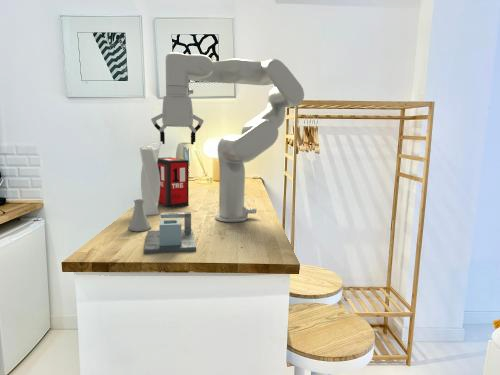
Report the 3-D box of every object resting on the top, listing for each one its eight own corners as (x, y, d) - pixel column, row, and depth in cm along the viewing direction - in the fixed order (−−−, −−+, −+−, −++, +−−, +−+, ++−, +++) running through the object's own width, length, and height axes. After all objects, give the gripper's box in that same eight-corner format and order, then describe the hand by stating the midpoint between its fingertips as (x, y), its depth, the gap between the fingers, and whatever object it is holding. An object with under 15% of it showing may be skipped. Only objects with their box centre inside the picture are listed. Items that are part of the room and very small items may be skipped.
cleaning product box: (153, 201, 165) (152, 158, 162) (170, 199, 171) (170, 157, 168) (170, 208, 153) (169, 161, 149) (188, 205, 158) (188, 160, 155)
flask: (142, 225, 126) (141, 196, 125) (155, 229, 122) (154, 200, 120) (124, 229, 121) (122, 199, 119) (136, 233, 116) (135, 203, 115)
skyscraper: (159, 210, 148) (158, 141, 144) (164, 214, 142) (163, 142, 137) (139, 212, 144) (137, 141, 140) (143, 216, 138) (141, 142, 133)
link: (181, 244, 102) (181, 224, 101) (159, 245, 101) (159, 225, 100) (179, 228, 119) (179, 210, 118) (160, 229, 117) (160, 211, 116)
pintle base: (192, 232, 118) (192, 211, 117) (196, 251, 101) (196, 226, 100) (147, 234, 115) (147, 212, 114) (144, 253, 98) (143, 228, 97)
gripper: (202, 94, 126) (202, 143, 129) (151, 92, 122) (152, 143, 125) (204, 92, 119) (204, 145, 122) (150, 90, 115) (151, 144, 118)
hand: (178, 144), depth 123 cm, fingers open, 9 cm apart
